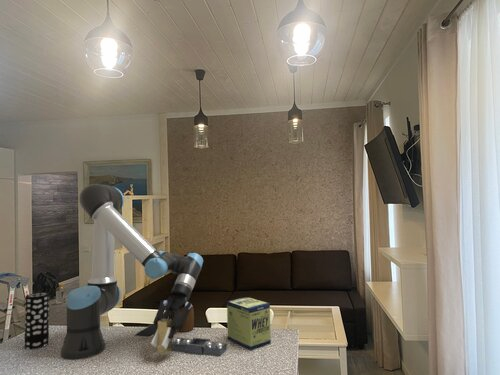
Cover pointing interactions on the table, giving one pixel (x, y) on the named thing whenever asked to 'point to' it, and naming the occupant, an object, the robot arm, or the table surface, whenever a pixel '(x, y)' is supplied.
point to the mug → (188, 322)
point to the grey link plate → (199, 346)
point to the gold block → (162, 331)
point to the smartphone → (146, 332)
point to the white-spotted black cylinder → (36, 320)
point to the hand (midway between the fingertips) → (158, 346)
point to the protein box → (248, 322)
